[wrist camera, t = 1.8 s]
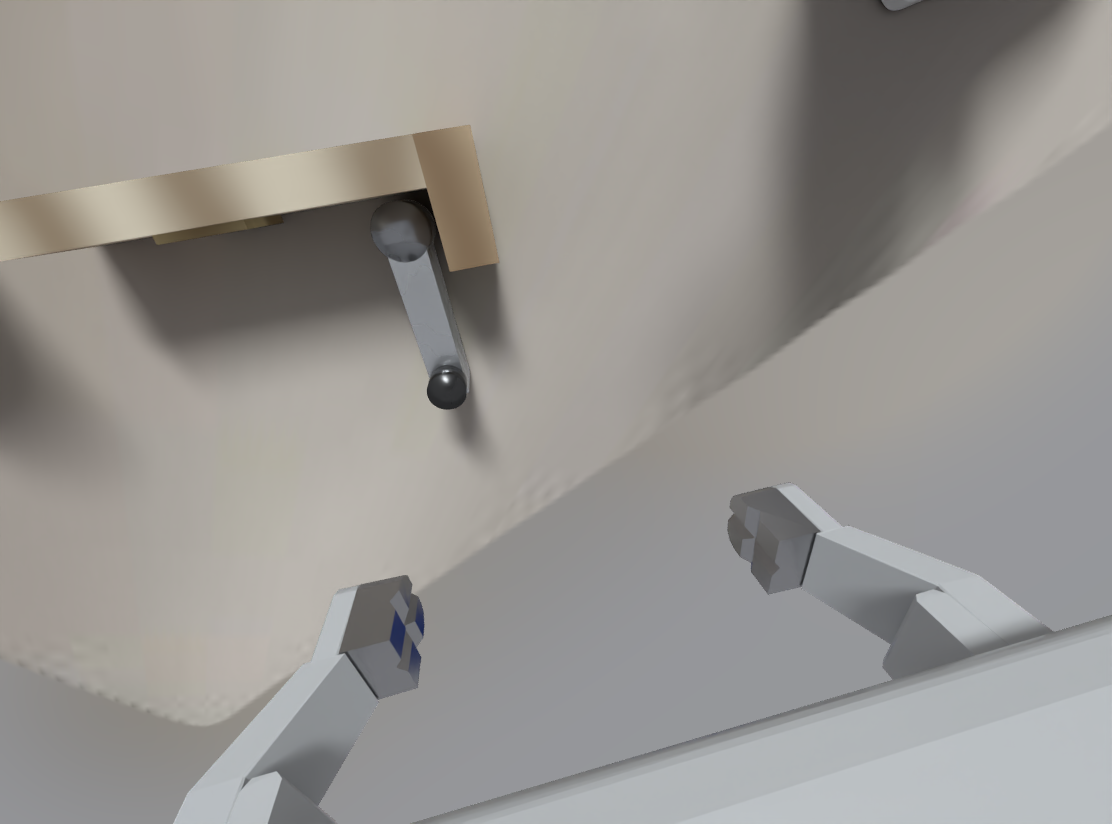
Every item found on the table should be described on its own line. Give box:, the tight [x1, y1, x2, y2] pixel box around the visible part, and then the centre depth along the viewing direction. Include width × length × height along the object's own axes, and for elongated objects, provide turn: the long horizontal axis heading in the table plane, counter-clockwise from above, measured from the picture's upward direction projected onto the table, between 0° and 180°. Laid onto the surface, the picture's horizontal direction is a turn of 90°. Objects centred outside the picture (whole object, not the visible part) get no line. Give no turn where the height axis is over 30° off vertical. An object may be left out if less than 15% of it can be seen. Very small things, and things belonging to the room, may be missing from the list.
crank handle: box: [371, 199, 470, 409], centre depth 23 cm, size 11×3×5 cm, turn 10°
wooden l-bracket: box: [0, 125, 499, 272], centre depth 20 cm, size 20×6×6 cm, turn 100°
